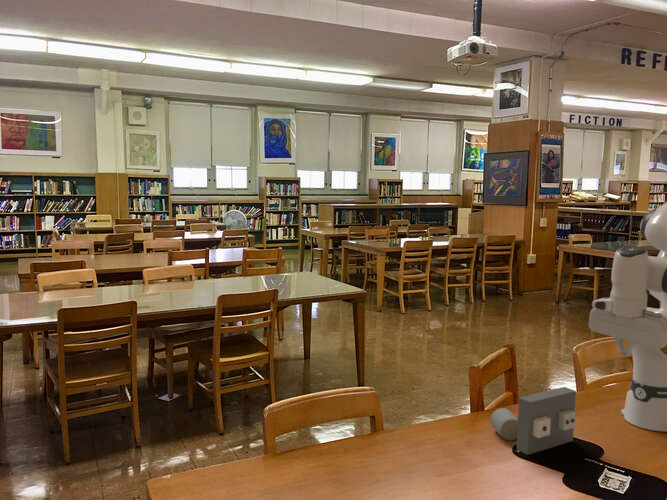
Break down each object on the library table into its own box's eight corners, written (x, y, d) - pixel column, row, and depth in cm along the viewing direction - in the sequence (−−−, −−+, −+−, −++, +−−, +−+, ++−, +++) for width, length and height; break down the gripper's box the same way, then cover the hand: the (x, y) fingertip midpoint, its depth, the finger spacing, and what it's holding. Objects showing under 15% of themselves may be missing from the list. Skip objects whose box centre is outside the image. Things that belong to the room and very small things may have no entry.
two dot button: (560, 421, 163) (561, 405, 162) (575, 427, 158) (576, 412, 158) (549, 424, 161) (550, 408, 160) (564, 431, 156) (565, 415, 155)
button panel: (561, 435, 165) (564, 386, 163) (572, 440, 162) (575, 391, 160) (516, 449, 156) (519, 397, 154) (527, 455, 152) (529, 402, 151)
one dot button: (536, 428, 158) (536, 412, 157) (550, 435, 153) (551, 418, 153) (524, 431, 155) (525, 415, 155) (538, 438, 151) (539, 422, 150)
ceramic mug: (500, 442, 160) (502, 418, 159) (489, 430, 168) (490, 407, 167) (533, 441, 161) (534, 417, 161) (520, 429, 169) (522, 407, 169)
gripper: (674, 313, 135) (670, 363, 137) (599, 297, 152) (597, 342, 155) (661, 317, 132) (658, 369, 134) (586, 300, 149) (584, 346, 152)
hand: (624, 354), depth 145 cm, fingers closed
